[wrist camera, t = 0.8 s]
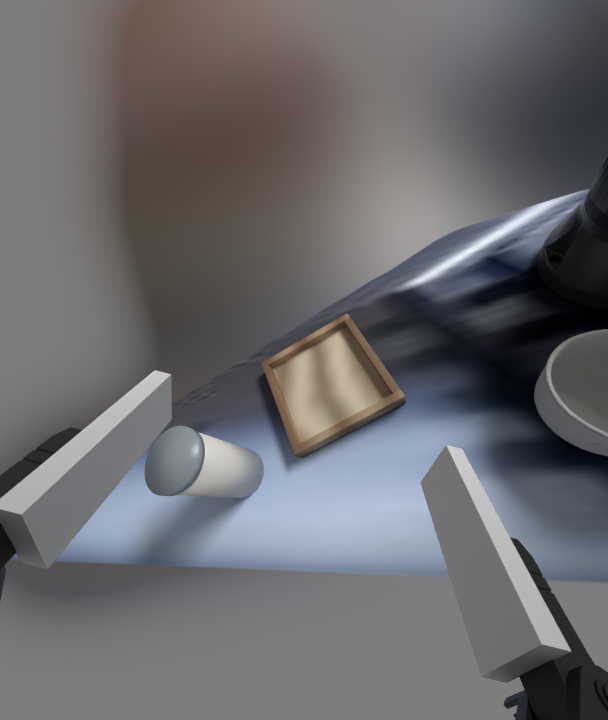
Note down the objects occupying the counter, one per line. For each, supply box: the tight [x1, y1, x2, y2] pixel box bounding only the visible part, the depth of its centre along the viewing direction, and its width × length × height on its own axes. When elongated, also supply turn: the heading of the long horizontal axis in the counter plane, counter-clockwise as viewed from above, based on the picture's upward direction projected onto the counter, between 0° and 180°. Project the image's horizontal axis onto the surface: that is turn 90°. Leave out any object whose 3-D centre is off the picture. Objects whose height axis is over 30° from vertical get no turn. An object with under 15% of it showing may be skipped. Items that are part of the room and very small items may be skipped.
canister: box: [145, 426, 264, 498], centre depth 34 cm, size 7×7×14 cm
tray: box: [262, 314, 406, 458], centre depth 40 cm, size 16×16×2 cm
